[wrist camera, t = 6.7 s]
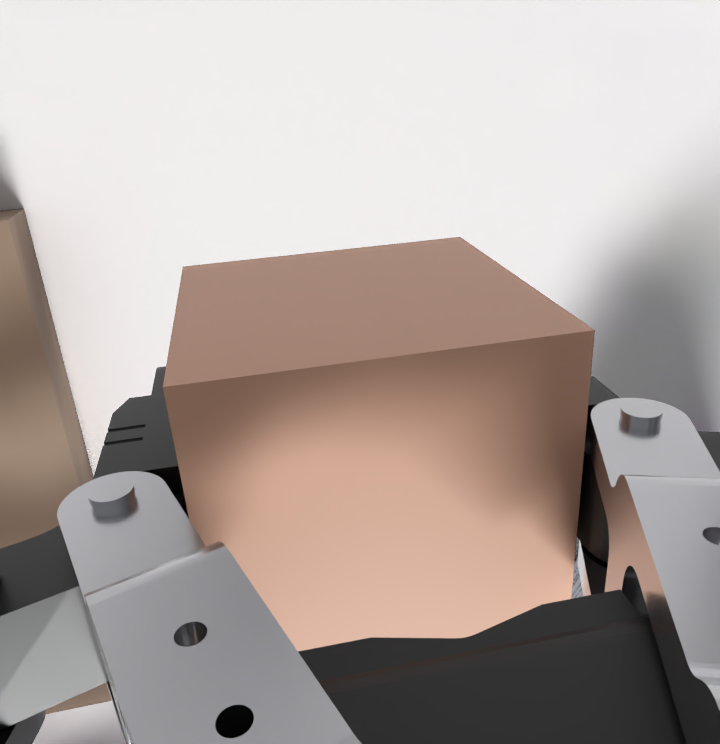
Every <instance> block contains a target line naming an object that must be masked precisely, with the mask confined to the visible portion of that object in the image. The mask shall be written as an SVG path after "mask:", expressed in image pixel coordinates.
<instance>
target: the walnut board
mask: <svg viewBox="0 0 720 744" xmlns="http://www.w3.org/2000/svg"><path fill="white" fill-rule="evenodd" d="M91 480H93V474H92V470H91V466H90V462H89V459H88V455H87V451H86V447H85V443H84V439H83V435H82V432H81V428H80V424H79V420H78V416H77V412H76V408H75V405H74V401H73V397H72V393H71V389H70V385H69V381H68V378H67V374H66V370H65V366H64V362H63V358H62V354H61V351H60V347H59V343H58V339H57V335H56V331H55V327H54V323H53V320H52V316H51V312H50V308H49V304H48V300H47V296H46V293H45V289H44V285H43V281H42V277H41V273H40V269H39V266H38V262H37V258H36V254H35V250H34V246H33V242H32V239H31V235H30V231H29V227H28V223H27V219H26V215H25V212H24V209H15V210H5V211H0V549H1V548H4V547H7V546H10V545H13V544H16V543H18V542H21V541H24V540H27V539H30V538H33V537H35V536H38V535H41V534H43V533H45V532H47V531H49V530H51V529H53V528H55V527H57V526H59V522H58V518H57V511H58V508H59V506H60V504H61V502H62V501H63V500H64V499H65V497H67V496H68V495H69V494H70V493H71V492H72V491H74V490H75V489H76V488H78V487H80V486H81V485H83V484H85V483H87V482H89V481H91ZM107 701H112V699H111V696H110V693H109V690H108V687H107V684H106V683H104V684H102V685H99V686H97V687H95V688H93V689H90V690H88V691H86V692H84V693H82V694H79V695H77V696H75V697H73V698H71V699H68V700H66V701H64V702H62V703H59V704H57V705H55V706H53V707H51V708H48V709H46V714H49V713H53V712H58V711H63V710H68V709H73V708H78V707H83V706H88V705H92V704H97V703H102V702H107Z"/></svg>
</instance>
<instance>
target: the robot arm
mask: <svg viewBox="0 0 720 744" xmlns="http://www.w3.org/2000/svg"><path fill="white" fill-rule="evenodd" d="M165 371H166V367H158V368H157V370H156V374H155V379H154V384H153V390H152V395H150V396H143V397H135V398H129V399H128V400H127V401H126V402H125V403H124V404H123V405H122V406H121V407H119V408H118V409H117V410H116V411H115V412H114V413H113V415H112V418H111V421H110V425H109V428H108V433H107V435H106V438H105V441H104V445H105V446H103V448H102V451H101V455H100V458H99V461H98V465H97V468H96V471H95V475H94V478H93V480H91V481H89V482H87V483H85V484H83V485H81V486H80V487H78V488H76V489H75V490H74V491H72V492H71V493H70V494H69V495H68V496H67V497H65V499H64V500H63V501H62V502H61V504H60V506H59V508H58V511H57V518H58V522H59V526H57V527H55V528H53V529H51V530H49V531H47V532H45V533H43V534H41V535H38V536H35V537H33V538H30V539H27V540H24V541H21V542H18V543H16V544H13V545H10V546H7V547H4V548H1V549H0V744H32V743H33V741H34V739H35V737H36V735H37V733H38V731H39V730H40V728H41V726H42V723H43V721H44V718H45V714H46V709H48V708H51V707H53V706H55V705H57V704H59V703H62V702H64V701H66V700H68V699H71V698H73V697H75V696H77V695H79V694H82V693H84V692H86V691H88V690H90V689H93V688H95V687H97V686H99V685H102V684H104V683H106V684H107V687H108V690H109V693H110V696H111V699H112V702H113V705H114V709H115V712H116V715H117V718H118V721H119V724H120V727H121V730H122V733H123V736H124V740H125V743H126V744H720V432H698V431H697V430H696V428H695V427H694V425H693V423H692V421H691V420H690V418H689V417H688V416H687V415H686V414H685V413H684V412H682V411H681V410H679V409H677V408H675V407H673V406H671V405H668V404H666V403H663V402H659V401H655V400H650V399H643V398H619V397H618V396H617V395H615V394H614V393H613V392H612V391H610V390H609V389H608V388H607V387H606V386H604V385H603V384H602V383H601V382H599V381H598V380H597V379H596V378H595V377H591V379H590V390H589V401H588V413H587V424H586V436H585V447H584V459H583V470H582V481H581V493H580V504H579V516H578V527H577V537H578V539H579V551H578V569H579V575H580V580H581V586H582V591H583V597H578V598H573V599H568V600H562V601H557V602H552V603H547V604H542V605H540V606H537V607H535V608H533V609H531V610H528V611H526V612H524V613H522V614H520V615H517V616H515V617H513V618H511V619H508V620H506V621H504V622H502V623H499V624H497V625H495V626H493V627H490V628H488V629H486V630H484V631H481V632H479V633H477V634H475V635H472V636H469V637H465V638H376V637H371V638H365V639H360V640H355V641H350V642H345V643H340V644H334V645H329V646H324V647H319V648H314V649H308V650H303V651H297V650H296V648H295V647H294V645H293V644H292V642H291V641H290V639H289V638H288V636H287V635H286V633H285V632H284V631H283V629H282V628H281V626H280V625H279V623H278V622H277V620H276V619H275V617H274V616H273V614H272V613H271V611H270V610H269V608H268V607H267V606H266V604H265V603H264V601H263V600H262V598H261V597H260V595H259V594H258V592H257V591H256V589H255V588H254V586H253V585H252V583H251V582H250V581H249V579H248V578H247V576H246V575H245V573H244V572H243V570H242V569H241V567H240V566H239V564H238V563H237V561H236V560H235V558H234V557H233V556H232V554H231V553H230V551H229V550H228V548H227V547H226V546H225V545H224V544H223V543H222V542H220V541H218V542H216V543H213V544H210V545H208V546H206V545H205V544H204V542H203V541H202V539H201V537H200V536H199V534H198V533H197V531H196V530H195V528H194V526H193V525H192V523H191V522H190V520H189V516H188V511H187V506H186V501H185V496H184V491H183V486H182V481H181V476H180V471H179V466H178V461H177V456H176V451H175V446H174V441H173V436H172V431H171V426H170V421H169V416H168V411H167V406H166V401H165V396H164V391H163V383H164V377H165Z"/></svg>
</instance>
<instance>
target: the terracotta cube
mask: <svg viewBox="0 0 720 744" xmlns="http://www.w3.org/2000/svg"><path fill="white" fill-rule="evenodd" d="M594 333H595V330H594V329H592V328H591V327H589V326H588V325H587V324H585V323H584V322H582V321H581V320H579V319H578V318H576V317H575V316H574V315H572V314H571V313H569V312H568V311H566V310H565V309H563V308H562V307H561V306H559V305H558V304H556V303H555V302H553V301H552V300H550V299H549V298H548V297H546V296H545V295H543V294H542V293H540V292H539V291H537V290H536V289H534V288H533V287H532V286H530V285H529V284H527V283H526V282H524V281H523V280H521V279H520V278H519V277H517V276H516V275H514V274H513V273H511V272H510V271H508V270H507V269H506V268H504V267H503V266H501V265H500V264H498V263H497V262H495V261H494V260H492V259H491V258H490V257H488V256H487V255H485V254H484V253H482V252H481V251H479V250H478V249H477V248H475V247H474V246H472V245H471V244H469V243H468V242H466V241H465V240H464V239H462V238H461V237H456V238H447V239H437V240H428V241H419V242H409V243H400V244H391V245H381V246H372V247H363V248H353V249H344V250H335V251H325V252H316V253H307V254H297V255H288V256H279V257H269V258H260V259H250V260H241V261H232V262H222V263H213V264H204V265H194V266H185V267H183V270H182V276H181V282H180V288H179V294H178V300H177V306H176V312H175V317H174V323H173V329H172V335H171V341H170V347H169V353H168V359H167V365H166V371H165V377H164V383H163V391H164V396H165V401H166V406H167V411H168V416H169V421H170V426H171V431H172V436H173V441H174V446H175V451H176V456H177V461H178V466H179V471H180V476H181V481H182V486H183V491H184V496H185V501H186V506H187V511H188V516H189V520H190V522H191V523H192V525H193V526H194V528H195V530H196V531H197V533H198V534H199V536H200V537H201V539H202V541H203V542H204V544H205V545H206V546H208V545H210V544H213V543H216V542H218V541H220V542H222V543H223V544H224V545H225V546H226V547H227V548H228V550H229V551H230V553H231V554H232V556H233V557H234V558H235V560H236V561H237V563H238V564H239V566H240V567H241V569H242V570H243V572H244V573H245V575H246V576H247V578H248V579H249V581H250V582H251V583H252V585H253V586H254V588H255V589H256V591H257V592H258V594H259V595H260V597H261V598H262V600H263V601H264V603H265V604H266V606H267V607H268V608H269V610H270V611H271V613H272V614H273V616H274V617H275V619H276V620H277V622H278V623H279V625H280V626H281V628H282V629H283V631H284V632H285V633H286V635H287V636H288V638H289V639H290V641H291V642H292V644H293V645H294V647H295V648H296V650H297V651H303V650H308V649H314V648H319V647H324V646H329V645H334V644H340V643H345V642H350V641H355V640H360V639H365V638H371V637H376V638H465V637H469V636H472V635H475V634H477V633H479V632H481V631H484V630H486V629H488V628H490V627H493V626H495V625H497V624H499V623H502V622H504V621H506V620H508V619H511V618H513V617H515V616H517V615H520V614H522V613H524V612H526V611H528V610H531V609H533V608H535V607H537V606H540V605H542V604H547V603H552V602H557V601H562V600H568V599H571V596H572V584H573V573H574V561H575V550H576V539H577V527H578V516H579V504H580V493H581V481H582V470H583V459H584V447H585V436H586V424H587V413H588V401H589V390H590V379H591V367H592V356H593V344H594Z"/></svg>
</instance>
